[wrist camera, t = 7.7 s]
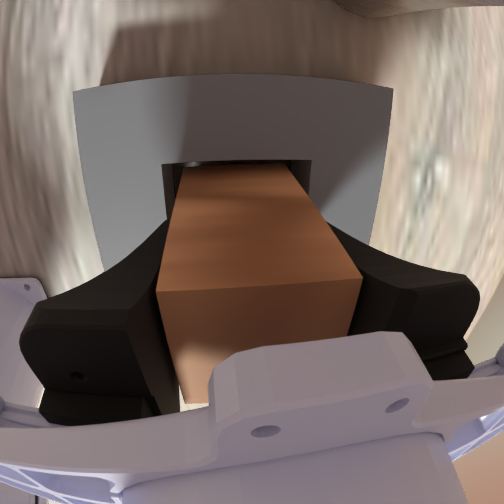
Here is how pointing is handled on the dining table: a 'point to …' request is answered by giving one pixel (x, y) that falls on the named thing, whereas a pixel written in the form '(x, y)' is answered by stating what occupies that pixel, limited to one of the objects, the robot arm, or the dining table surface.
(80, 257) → the dining table surface
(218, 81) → the bore block
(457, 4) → the round dowel
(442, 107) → the dining table surface
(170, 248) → the square peg
